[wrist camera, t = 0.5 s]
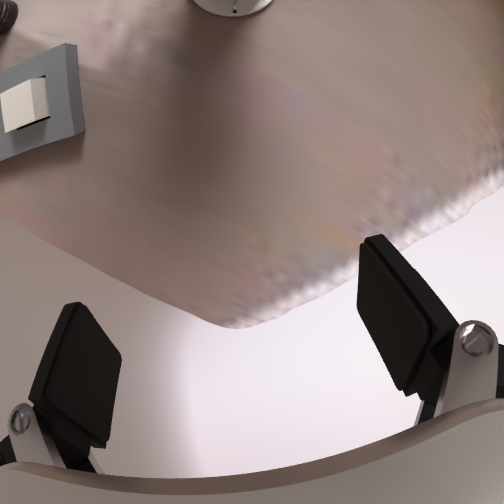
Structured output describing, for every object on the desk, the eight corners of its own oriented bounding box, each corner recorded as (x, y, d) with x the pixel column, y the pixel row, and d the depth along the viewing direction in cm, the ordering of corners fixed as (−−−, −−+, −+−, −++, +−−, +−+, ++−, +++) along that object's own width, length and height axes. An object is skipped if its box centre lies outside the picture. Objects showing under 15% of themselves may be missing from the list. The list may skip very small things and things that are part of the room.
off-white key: (18, 90, 27) (-1, 94, 23) (48, 77, 27) (30, 78, 23) (23, 125, 30) (5, 133, 26) (52, 114, 31) (35, 120, 26)
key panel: (-38, 104, 25) (-52, 108, 22) (77, 45, 28) (65, 43, 24) (-27, 170, 33) (-39, 178, 30) (85, 130, 35) (74, 135, 32)
